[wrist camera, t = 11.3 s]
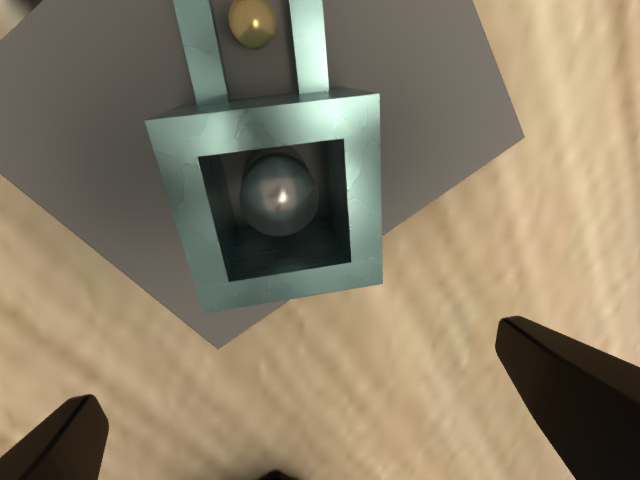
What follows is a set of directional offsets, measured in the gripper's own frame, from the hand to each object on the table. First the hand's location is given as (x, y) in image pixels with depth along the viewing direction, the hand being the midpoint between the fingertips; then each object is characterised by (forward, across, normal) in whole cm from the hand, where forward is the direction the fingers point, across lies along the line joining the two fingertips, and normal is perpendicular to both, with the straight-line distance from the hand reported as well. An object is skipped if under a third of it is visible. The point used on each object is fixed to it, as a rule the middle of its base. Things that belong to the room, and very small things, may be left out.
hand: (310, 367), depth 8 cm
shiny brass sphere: (+10, 0, -8) cm, 13 cm away
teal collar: (+10, 0, -4) cm, 11 cm away
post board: (+12, 0, -4) cm, 12 cm away
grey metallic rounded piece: (+11, 0, -2) cm, 11 cm away
